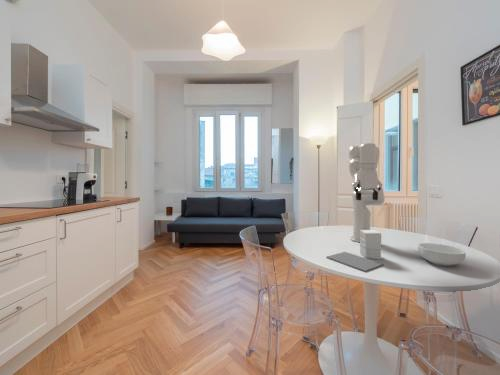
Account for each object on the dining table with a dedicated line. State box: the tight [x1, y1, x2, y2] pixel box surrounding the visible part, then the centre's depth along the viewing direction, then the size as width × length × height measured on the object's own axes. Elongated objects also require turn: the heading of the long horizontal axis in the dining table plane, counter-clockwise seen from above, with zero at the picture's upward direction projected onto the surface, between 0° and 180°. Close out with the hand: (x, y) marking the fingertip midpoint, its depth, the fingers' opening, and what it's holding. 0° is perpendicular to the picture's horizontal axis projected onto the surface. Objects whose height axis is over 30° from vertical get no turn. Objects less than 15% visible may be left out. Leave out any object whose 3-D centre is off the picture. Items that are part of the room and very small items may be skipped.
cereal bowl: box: [417, 242, 467, 267], centre depth 106 cm, size 17×17×7 cm
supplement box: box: [359, 229, 382, 260], centre depth 115 cm, size 7×7×13 cm
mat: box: [326, 251, 384, 273], centre depth 108 cm, size 14×20×1 cm
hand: (366, 200), depth 122 cm, fingers open, 9 cm apart
